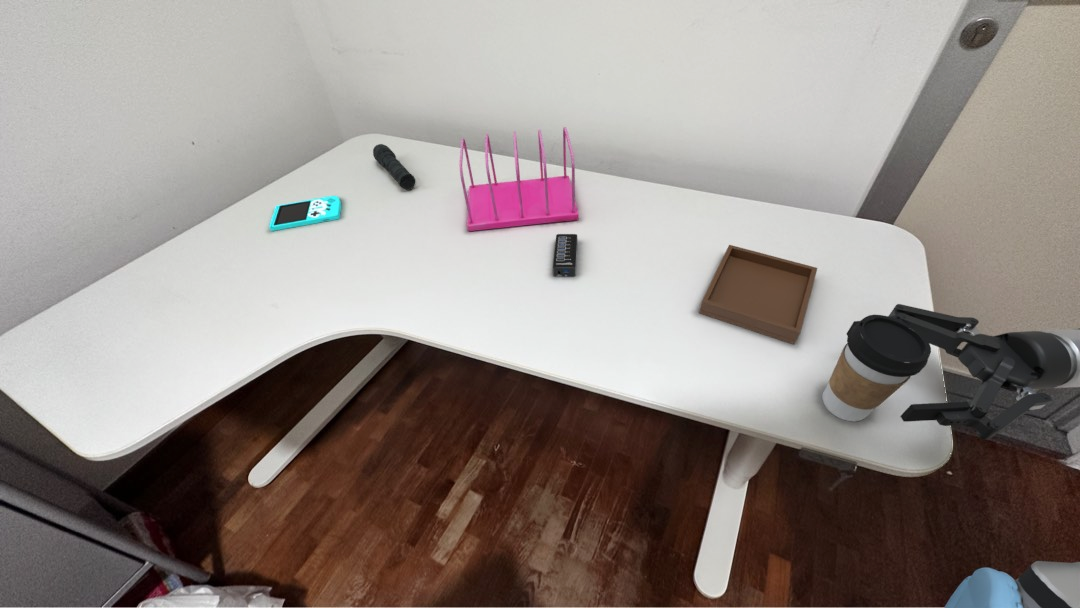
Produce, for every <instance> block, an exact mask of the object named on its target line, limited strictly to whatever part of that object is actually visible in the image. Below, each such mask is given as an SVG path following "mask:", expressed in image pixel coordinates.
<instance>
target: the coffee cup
mask: <svg viewBox="0 0 1080 608" xmlns="http://www.w3.org/2000/svg"><path fill="white" fill-rule="evenodd" d="M888 316H889V315H882V314H869V315H867V316H865V317H863V318H862V319H860V320H859V321H860V322H859V323H858V324H857V325H856V326H854V327H853V328H852V329H851V331H850V333H849V335H848V336H847V338H846V342H847V343H845V345H844V347H843V348H842V351H841V353H840V354H839V355H840V356H839V358H838V360H837V362H836V364H835V366H834V369H833V371H832V373H831V375H830V377H829V380H828V382H827V384H826V386H825V388H824V390H823V393H822V396H821V397H822V403H823V405H824V407H825V408H826V410H827V411H829V413H831V414H832V415H833V416H835V417H837V418H838V419H841V420H843V421H847V422H860V421H862V420H864V419H866V418H867V417H868V416H870V414H871V413H873V411H875V410H876V408H878V407H879V406H880V405H882V404H883V403H884V402H885V401H886V400H888V399H889V398H890V397H891V396H892V395H893V394H894V393H895V392H896V391H898V390H899V389H900V388H901V387H902V386H903V385H905V383H907V382H908V381H909V380H910V379H911V377H912V376H916V375H918V374H919V373H920V372H921V371H922V370H923V369H924V368H925V367H926V366H927V364H928V362H929V358H930V355H931V353H932V347H931V344H929V342H928V341H927V339H926V338H925V337H924V336H923V335H922V334H921V333H920V332H919V331H918V330H916V329H915V328H913V327H912V326H910V325H908V324H906V323H904V322H902V321H900V320H897V319H894V318H892V317H888Z"/></svg>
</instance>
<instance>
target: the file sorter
mask: <svg viewBox="0 0 1080 608" xmlns="http://www.w3.org/2000/svg"><path fill="white" fill-rule="evenodd" d="M537 131H538V132H537V133H538V134H537V136H538V149H539V151H538V154H539V169H540V178H531V179H530V178H529V179H521V175H520V163H519V153H518V152H519V151H518V142H517V141H518V140H517V135H516V134H517V132H516V131H512V133H513V137H512V138H513V149H514V150H513V151H514V152H513V153H514V164H515V165H514V167H515V176H516V180H511V181H503V182H502V181H501V182H498V181H497V176H496V175H497V174H496V169H495V163H494V157H493V153H492V146H491V141H490V136H489V133H485V138H484V140H485V141H484V144H485V145H484V151H485V152H484V160H485V161H484V162H485V169H486V176H487V182H488V183H484V184H483V183H482V184H481V183H480V184H474V179H473V178H474V177H473V174H472V173H473V172H472V167H471V163H470V158H469V153H468V147H467V143H466V139H465V138H461V141H460V150H459V164H458V165H459V175H460V180H461V186H462V190H463V195H464V201H465V204H466V210H467V216H466V226H467V231H468V232H474V231H482V230H491V229H502V228H503V229H504V228H512V227H520V226H521V227H522V226H530V225H531V226H532V225H541V224H550V223H559V222H560V223H561V222H570V221H571V222H572V221H578V220H579V211H578V206H577V202H576V198H575V197H576V178H575V176H576V173H575V172H576V171H575V170H576V169H575V168H576V167H575V156H574V155H575V154H574V151H573V145H572V143H571V140H570V139H571V138H570V136H569V132H568V129H567V127H566V126H563V129H562V149H563V150H562V151H563V153H562V154H563V175H560V176H551V177H548V172H547V162H546V161H547V160H546V153H545V146H544V142H543V141H544V140H543V136H542V130H541V129H538V130H537ZM566 143H567V144H566ZM566 145H567V146H566ZM566 147H568V150H569V154H570V161H571V178H570V176H569V175H567V151H566V150H567V148H566ZM464 153H465V154H464ZM464 155H465V159H466V163H467V169H468V174H469V179H470V183H471V184H470V185H469V186H468V193H467V188H466V183H465V179H464V171H463V159H464V158H463V156H464ZM489 158H490V164H491V170H492V176H493V181H494V182H493V183H492V178H491V173H490V166H489Z"/></svg>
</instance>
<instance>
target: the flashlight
mask: <svg viewBox="0 0 1080 608" xmlns="http://www.w3.org/2000/svg"><path fill="white" fill-rule="evenodd" d="M372 156H373V158H374V160H375V161H376V162H377V163H378V164H379V165H380V166H381V167H383V168H384V169H386V170H387V172H388V173H389V174H390V175H391V177H392V178H394V180H395V181H396V182H397V183H398V185H399V188H401V189H404V190H406V191H409V190H410V191H411V190H412V189H414V187H415V186H416V183H417V181H416V178H415V176H414V175H413V174H412V173H410V171H409V170H408V169H407V168H406V167H405V166H404V165H403V164H402V163H401V162H400V160H398V159H397V156H396V154H395V152H394V151H392V150H391V148H390V147H389V146H388V145H385V144H383V143H379V144H376V145H375V146H374V147H373V149H372Z"/></svg>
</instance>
